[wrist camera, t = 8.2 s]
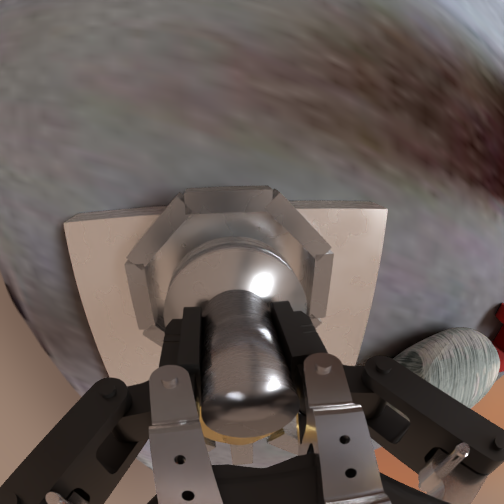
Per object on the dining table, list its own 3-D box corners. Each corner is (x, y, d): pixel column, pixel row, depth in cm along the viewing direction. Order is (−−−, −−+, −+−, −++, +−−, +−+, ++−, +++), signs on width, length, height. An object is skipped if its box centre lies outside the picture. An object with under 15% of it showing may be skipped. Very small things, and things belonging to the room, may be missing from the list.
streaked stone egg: (356, 432, 22) (437, 469, 13) (361, 340, 23) (461, 356, 13) (433, 387, 27) (499, 400, 18) (438, 314, 28) (510, 315, 19)
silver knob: (160, 239, 12) (117, 337, 6) (300, 233, 13) (374, 318, 7) (177, 349, 15) (168, 459, 8) (291, 341, 16) (331, 443, 9)
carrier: (75, 194, 14) (16, 224, 8) (372, 182, 16) (438, 206, 11) (142, 420, 22) (135, 474, 16) (329, 406, 24) (350, 455, 18)
